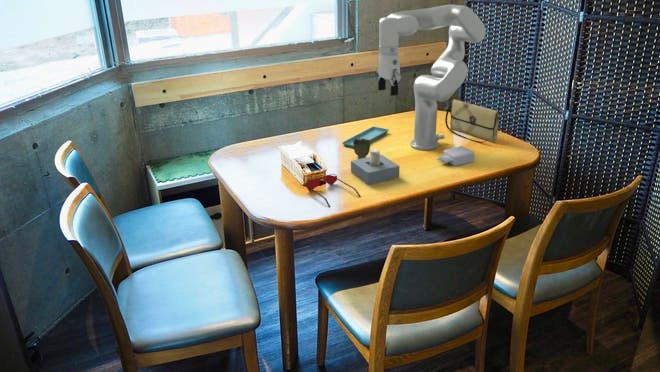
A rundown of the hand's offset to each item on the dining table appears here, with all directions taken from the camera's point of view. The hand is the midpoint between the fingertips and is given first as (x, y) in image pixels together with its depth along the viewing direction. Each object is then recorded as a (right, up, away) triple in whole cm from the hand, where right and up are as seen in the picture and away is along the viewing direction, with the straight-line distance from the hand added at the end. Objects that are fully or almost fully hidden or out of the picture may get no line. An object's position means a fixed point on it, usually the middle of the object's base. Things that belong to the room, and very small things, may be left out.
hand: (387, 92), depth 223 cm
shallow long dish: (-7, -17, +33) cm, 38 cm away
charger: (+27, -28, +5) cm, 40 cm away
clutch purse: (+42, -15, +32) cm, 55 cm away
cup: (-10, -26, +11) cm, 30 cm away
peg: (-6, -34, -5) cm, 34 cm away
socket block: (-6, -34, -5) cm, 35 cm away
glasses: (-22, -42, -20) cm, 51 cm away
